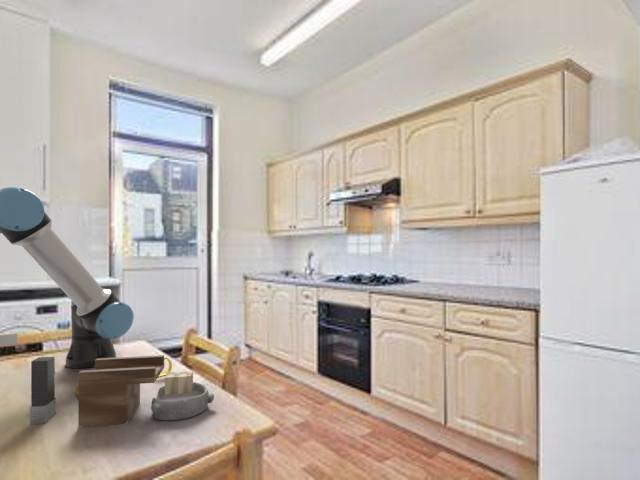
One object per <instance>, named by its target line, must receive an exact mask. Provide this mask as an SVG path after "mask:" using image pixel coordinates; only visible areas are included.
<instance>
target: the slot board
mask: <svg viewBox="0 0 640 480" xmlns="http://www.w3.org/2000/svg"><path fill="white" fill-rule="evenodd" d="M164 356H165V355H164V354H163V355H161V354H160V355H159V354H158V355H143V356H142V355H141V356H140V355H139V356H138V355H137V356H123V357H121V356H120V357H119V356H118V357H117V356H116V358H97V359H96V360H95V367H94V368H93V369H88V370H87V369H86V370H80V371H79V372H78V381H77V382H78V383H77V385H78V395H77V398H78V399H77V401H78V402H77V403H78V405H77V406H78V409H77V410H78V412H77V413H78V417H77V418H78V422H77V423H78V424H77V425H78V428H83V427H84V428H85V427H96V426H109V425H122V424H127V423H128V422H129V420H130V419H131V417H132V416H133V414H134V413H135V411H136V410H137V408H138V406H139V405H140V404H141V384H154V383H156V381H157V379H158V378H159V377H158V376H159V375H161V374H162V372H163V370H164V369H165V360H164Z"/></svg>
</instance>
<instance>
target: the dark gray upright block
mask: <svg viewBox="0 0 640 480" xmlns="http://www.w3.org/2000/svg"><path fill="white" fill-rule="evenodd" d="M30 367H31V368H30V370H31V372H30V374H31V375H30V377H31V378H30V382H31V384H30V388H31V390H30V391H31V399H30V401H31V403H30V404H31V405H30V407H29V426H33V425H34V426H35V425H36V426H37V425H45V424H46V423H47V422H49V420H50V419H52V418H53V417H54V416H55V415H56V414H57V412H56V409H57V405H56V403H57V402H56V401H57V399H56V397H55V395H56V394H55V391H56V390H55V389H56V388H55V387H56V386H55V381H56V379H55V376H56V375H55V369H56V368H55V356H44V357H43V356H40V357H36V358H35V359H34V360H32V361H31V365H30Z"/></svg>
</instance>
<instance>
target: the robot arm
mask: <svg viewBox="0 0 640 480" xmlns="http://www.w3.org/2000/svg"><path fill="white" fill-rule="evenodd" d="M52 223H53V220H52V219H51V218H50V217H49V215H48V214H47V213H46V211H45V206H44V203H43V201H42V200H41V198H40V197H39V196H37V194H35V192H32V191H30V190H28V189H27V188H23V187H14V186H13V187H10V186H9V187H4V188H1V189H0V234H2V235H3V236H4V237H5V239H6V240H8V242H9V243H10V244H11V245H16V246H21V247H23V249H24V250H25V252H27V253H28V254H29V256H31V258H33V259H34V261H35V262H36V263H37V264H38V265H39V266H40V267H41V269H43V271H44V272H45V273H46V274H47V275H48V277H50V278H51V279H52V281H53V282H54V283H55V284H56V285H57V286H58V287H59V288H60V289H61V291H62V292H64V294H65V295H66V296H67V297H68V298H69V299H70V300H71V306H70V309H71V342H70V343H71V344H70V346H69V349H68V352H67V355H66V357H65V366H66V367H67V368H71V369H86V368H87V369H88V368H95V360H96V359H97V358H116V357H117V353H116V348H115V346H114V343H113V342H112V340H114V339H118V338H121V337H123V336H124V335H125V334H127V333H128V331H129V330H130V329H131V327H132V325H133V324H134V318H135V317H134V315H135V314H134V311H133V309H132V307H131V306H130V305H129V304H127V303H126V302H124V301H120V300H119V298H118V297H117V296H116V295H115V294H114V292H113V291H112V290H111V289H109V288H103V287H102V286H101V285H100V284H99V283H98V281H96V279H94V277H93V276H92V274H90V272H89V271H88V270H87V269H86V267H85V266H84V265H83V264H82V262H81V261H80V260H79V259H78V258H77V257H76V256H75V255H74V253H72V251H71V250H70V248H68V247H67V245H66V244H65V243H64V242H63V241H62V239H61V238H60V237H59V236H58V235H57V233H56V232H55V231H54V229H52ZM17 345H18V333H6V334H4V333H3V334H2V333H1V334H0V347H6V346H7V347H8V346H17Z"/></svg>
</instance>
